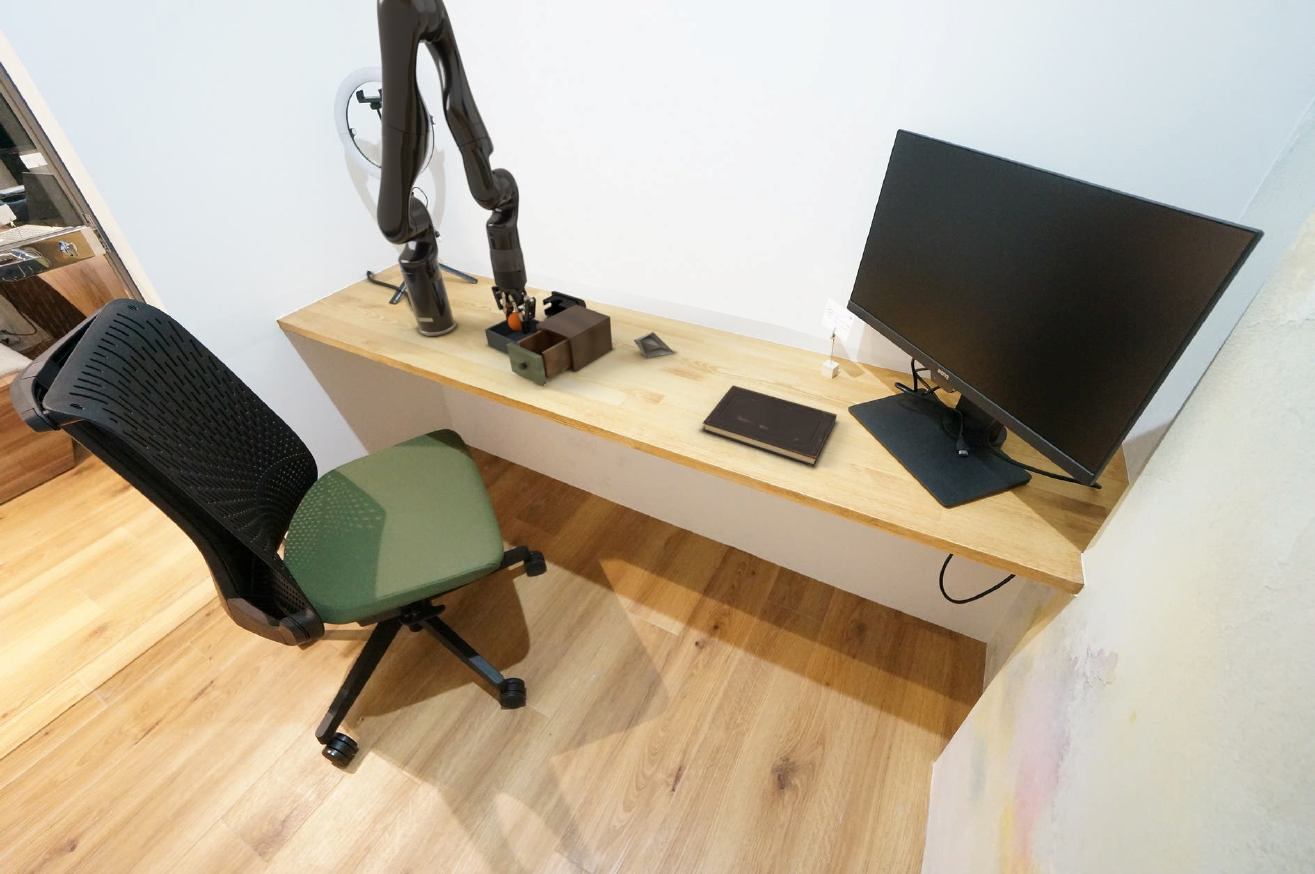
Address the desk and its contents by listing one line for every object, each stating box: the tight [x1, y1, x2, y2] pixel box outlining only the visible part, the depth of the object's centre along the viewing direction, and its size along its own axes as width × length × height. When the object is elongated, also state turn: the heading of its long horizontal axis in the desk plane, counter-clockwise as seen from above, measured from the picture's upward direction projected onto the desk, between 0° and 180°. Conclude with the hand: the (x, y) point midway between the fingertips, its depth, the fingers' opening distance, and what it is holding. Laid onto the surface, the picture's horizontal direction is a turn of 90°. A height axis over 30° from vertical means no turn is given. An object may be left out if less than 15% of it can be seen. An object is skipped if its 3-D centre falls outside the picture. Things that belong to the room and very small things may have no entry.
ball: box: [508, 311, 525, 331], centre depth 133 cm, size 5×5×5 cm
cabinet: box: [536, 305, 613, 373], centre depth 130 cm, size 14×12×9 cm
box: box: [484, 318, 542, 356], centre depth 136 cm, size 14×12×5 cm
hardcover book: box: [702, 384, 838, 468], centre depth 109 cm, size 16×23×2 cm
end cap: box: [542, 290, 587, 320], centre depth 146 cm, size 10×7×7 cm
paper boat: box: [632, 331, 675, 358], centre depth 130 cm, size 12×6×9 cm
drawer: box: [507, 329, 572, 387], centre depth 124 cm, size 14×10×7 cm
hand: (519, 329), depth 135 cm, fingers closed on ball, 4 cm apart
